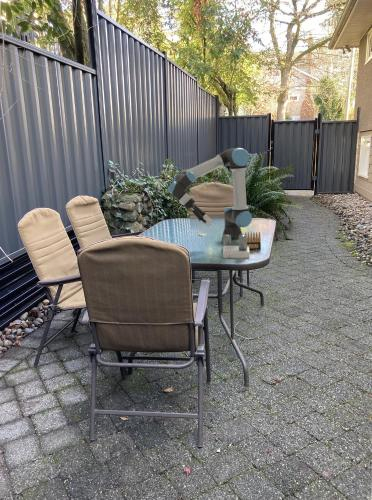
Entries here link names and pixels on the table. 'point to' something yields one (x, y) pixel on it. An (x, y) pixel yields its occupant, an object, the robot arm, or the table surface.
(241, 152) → the robot arm
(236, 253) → the scale
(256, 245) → the ammunition clip
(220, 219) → the table surface
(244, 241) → the cylinder
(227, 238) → the ball
